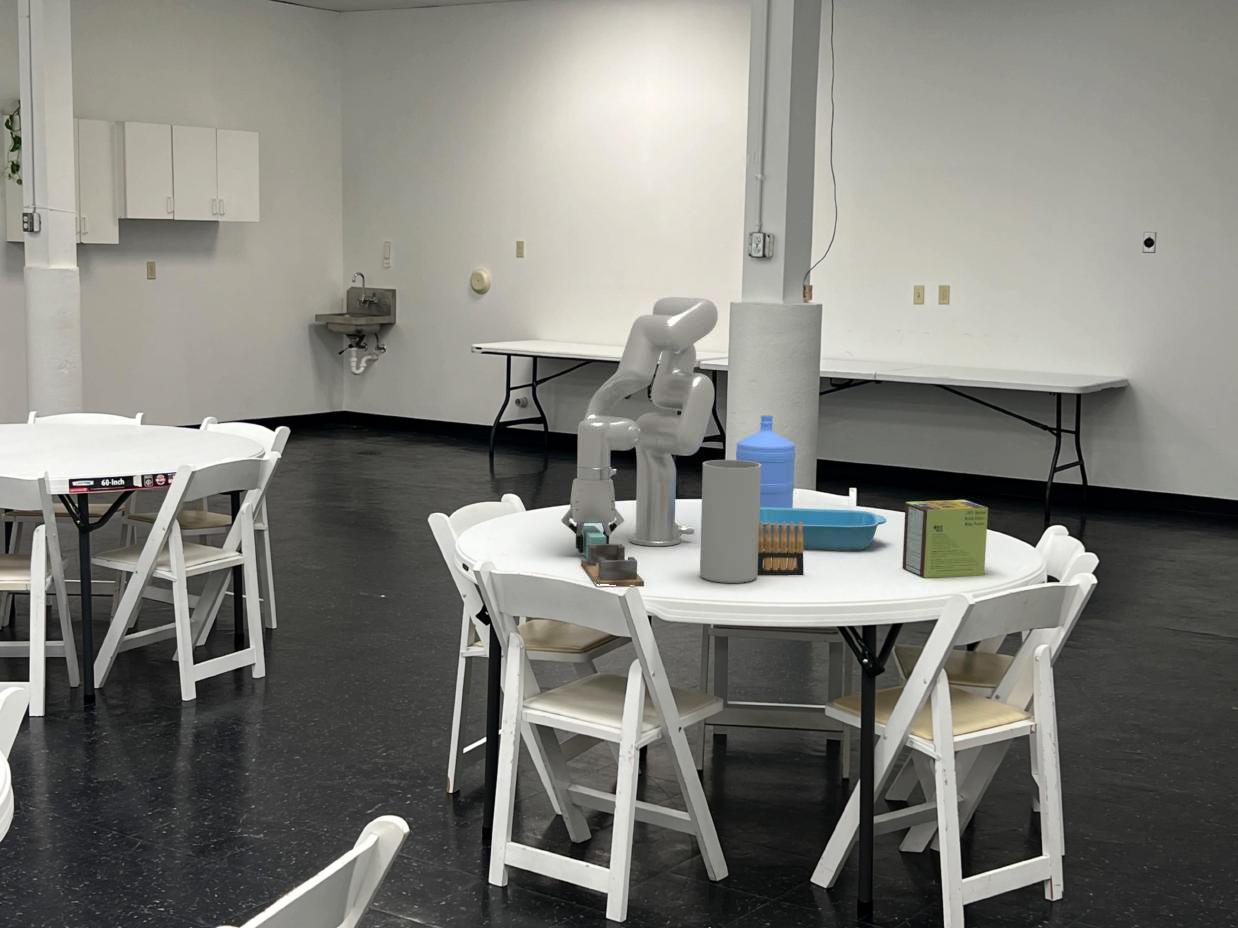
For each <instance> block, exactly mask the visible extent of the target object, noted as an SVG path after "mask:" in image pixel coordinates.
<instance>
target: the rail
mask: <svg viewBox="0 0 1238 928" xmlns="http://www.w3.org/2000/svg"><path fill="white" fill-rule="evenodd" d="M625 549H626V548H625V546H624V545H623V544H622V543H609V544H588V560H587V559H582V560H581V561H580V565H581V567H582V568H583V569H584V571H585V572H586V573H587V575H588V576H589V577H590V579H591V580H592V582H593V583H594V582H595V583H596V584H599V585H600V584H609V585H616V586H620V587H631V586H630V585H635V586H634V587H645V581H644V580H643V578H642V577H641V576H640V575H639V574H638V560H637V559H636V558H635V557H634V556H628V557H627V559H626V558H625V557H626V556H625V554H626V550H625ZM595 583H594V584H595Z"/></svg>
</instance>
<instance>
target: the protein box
mask: <svg viewBox="0 0 1238 928" xmlns="http://www.w3.org/2000/svg"><path fill="white" fill-rule="evenodd" d="M904 506H905V507H904V523H903V524H904V526H903V529H904V530H903V546H902V547H903V548H902V549H903V551H902V570H905V571H907V572H910V573H912V574H914V575H916V576H918V577H920V578H923V579H930V578H932V579H933V578H953V577H954V578H955V577H956V578H957V577H972V576H973V577H975V576H976V577H977V576H984V575H985V570H986V569H985V567H986V553H987V552H986V548H987V547H986V546H987V534H988V533H987V530H988V517H989V515H988V513H989V507H988V506H986V505H985V506H984V505H981V504H978V503H975V502H973V501H969V500H966V499H956V500H955V499H954V500H948V499H947V500H926V501H922V500H921V501H905V505H904Z"/></svg>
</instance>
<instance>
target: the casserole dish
mask: <svg viewBox="0 0 1238 928" xmlns="http://www.w3.org/2000/svg"><path fill="white" fill-rule="evenodd" d="M760 521H762V524H763V538H764V540H765V534H766V526H767V523H768V521H769V522H770V525H771V539H772V540H773V534H774V526H775V522H776V521H777V522H778V526H779V540H780V539H781V531H782V525H783V522H784V521H785V522H786V527H787V549H788V539H789V531H790V525H791V522H792V521H793V522H794V527H795V550H796V539H797V532H798V525H799V523H800V521H801V522H802V526H803V550H822V551H823V550H824V551H825V550H826V551H861V550H864V549H865V548H867V547H869V546H870V545H871V544H872V542H873V539H874V537H875V534H876V531H877V527H878V526H879V525H883V524H885V523H886V522H887V518H886V517H885V516H882V515H879V514H876V513H874V512H871V511H865V510H857V509H856V510H853V509H852V510H851V509H831V508H830V509H827V508H824V509H823V508H804V507H803V508H802V507H800V508H798V507H793V508H772V507H760V514H759V523H760ZM779 549H780V545H779Z"/></svg>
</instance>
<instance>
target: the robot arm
mask: <svg viewBox="0 0 1238 928" xmlns="http://www.w3.org/2000/svg"><path fill="white" fill-rule="evenodd" d="M718 319H719V312H718V309H717V307H716V305H715V302H713V301H711V300H709V299H707V298H701V297H679V296H669V297H663V298H660V299H658V300H657V301H656V302H655V303H654V305H653V308H652V314H644V315H640V316H638V317H637V318H636V319H635V320H634V322H633V324H632V326H631V328H630V331H629V335H628V338H627V341H626V343H625V347H624V350H623V352H622V355H621V358H620V360H619V361H620V362H619V365H618V368H617V370H616V372H615V373H614V374H613V375H612V376H611V377H610V378H608V379H607V380H606V381H605V382H604V383H603V384H602V385H601V386H600V387H599V389H597V391H596V392H595V393H594V394H593V396H592V397H591V400H590V402H589V404H588V406H587V409H586V413H585V416H584V418H583V420H582V421H580V422H579V423H578V426H577V465H576V467H577V469H576V470H577V473H576V475H577V476H576V478H574V479H573V481H572V487H571V493H570V507H569V509H568V510H567V512H566V513H565V514H564V515H563V517H561V518H560V519H561V520H560V522H561V523H562V524H564V525H565V526H566V527H568V528H569V529H570V530H571V531H572V532H573V533H574V534H575V549H577V551H578V552H579V554H582V552H583V536H582V529H583V526H585V524H601V525H602V529H603V531H602V533H603V534H604V535H605V536H606V544H610V536H611V534H612V533H613V532H614V531H615V530H616V529H617V528H618V527H619V526H621V525H622V524H623V523H624V522H625V518H623V516H622V515H621V514H620V512H619V511H618V510H617V508H616V499H615V497H616V496H615V488H614V486H615V485H614V482H613V479H612V478H611V476H613V475H615V476H616V475H617V469H616V468H612V467H611V451H629V450H632V449H633V448H635V452H636V454H635V455H636V497H635V498H636V499H635V500H636V502H635V503H636V506H635V510H636V511H635V533H633V534H630V535H629V537H628V539H629V540H628V541H629V542H631V543H632V544H635V545H638V546H639V545H641V546H649V547H665V546H668V547H669V546H674V545H678V544H680V543H681V542H682V539H681V538H682V537H681V536H682V535H694V533H695V528H694V526H693V525H692V526H687V525H678V523H676V497H677V496H676V489H677V488H676V487H677V468H676V463H675V462H674V458H673V456H672V455H676V456H686V457H687V456H692V455H694V454H695V453H697V452H698V451H699V450H700V447H701V446H702V443H703V441H704V437H705V434H706V431H707V429H708V428H707V427H708V425H709V424H708V423H709V420H710V417H711V413H712V410H713V406H714V402H715V387H714V384H713V382H712V380H711V379H710V377H709V376H707V375H706V374H703V373H699V372H694V369H695V365H696V360H697V349H696V347H695V344H696V343H698V341H701V340H702V339H703V338H705V337H706V336H707V335H709V334H710V333H711V332H712V331H713V330H714V329H715V328H716V325H717V323H718ZM657 366H658V367H657ZM655 372H656V374H655ZM654 375H655V376H654ZM654 377H655V378H654ZM653 378H654V381H653ZM652 381H653V383H652ZM651 383H652V388H651V392H650V394H651V395H650V398H651V401H652V403H653V405H654V406H655V407H658V408H660V409H663V410H669V411H675V412H676V411H678V412H681V413H680V414H672V413H664V412H647V413H644V414H642V415H641V416H640V417H638V418H637V419H636V421H634V420H633V419H631V418H625V417H617V416H610V414H611V412H612V410H613V408H614V407H615V406H616V405H617V404H618V403H619V402H620V401H621V400H622V399H624V398H625V397H627V396H629V395H632V394H633V393H637V392H638V391H641V390H643V389H645V388H647V387H648V386H650V385H651ZM570 519H572V521H573V523H572V522H571V521H570ZM574 523H576V524H574Z"/></svg>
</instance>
